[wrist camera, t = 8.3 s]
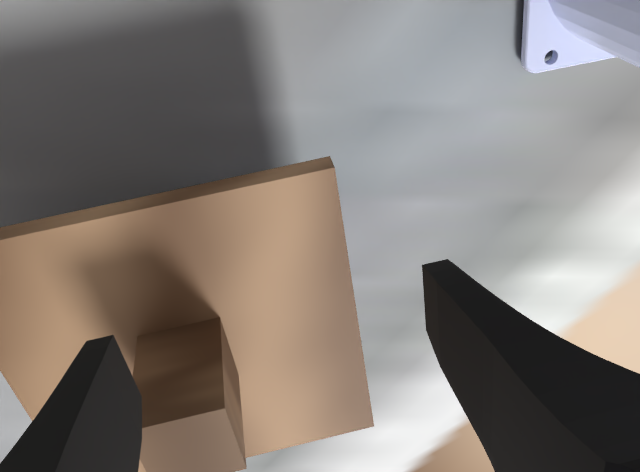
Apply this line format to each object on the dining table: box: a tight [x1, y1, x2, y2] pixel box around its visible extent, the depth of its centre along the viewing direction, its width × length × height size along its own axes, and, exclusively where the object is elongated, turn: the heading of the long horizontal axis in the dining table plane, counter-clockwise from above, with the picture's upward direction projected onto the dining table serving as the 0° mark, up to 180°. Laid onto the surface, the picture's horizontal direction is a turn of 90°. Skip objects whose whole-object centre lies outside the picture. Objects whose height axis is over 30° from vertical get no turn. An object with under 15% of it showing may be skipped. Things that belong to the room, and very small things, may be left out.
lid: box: [0, 156, 374, 472], centre depth 20 cm, size 12×12×5 cm
